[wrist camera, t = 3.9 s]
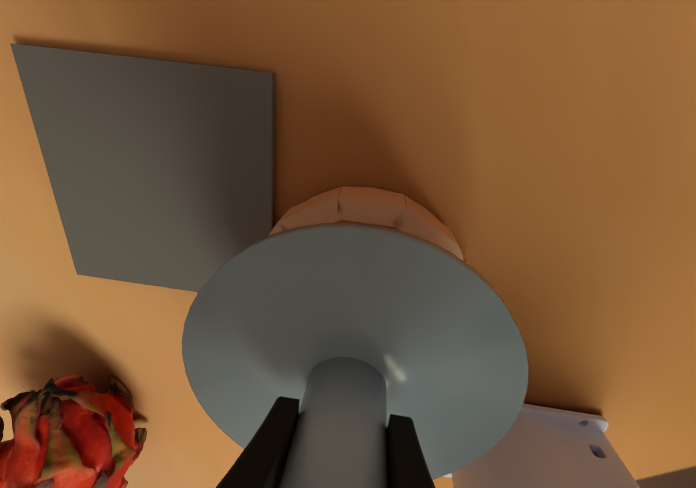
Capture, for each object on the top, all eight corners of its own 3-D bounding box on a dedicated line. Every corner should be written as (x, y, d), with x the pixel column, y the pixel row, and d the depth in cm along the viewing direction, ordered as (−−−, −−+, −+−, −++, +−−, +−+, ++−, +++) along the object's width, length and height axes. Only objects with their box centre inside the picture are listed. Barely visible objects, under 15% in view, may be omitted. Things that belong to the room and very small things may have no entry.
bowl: (485, 201, 16) (503, 218, 13) (436, 369, 20) (443, 403, 18) (264, 173, 16) (244, 185, 14) (265, 342, 21) (250, 373, 18)
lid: (568, 232, 9) (732, 355, 5) (484, 487, 14) (527, 654, 10) (156, 213, 10) (-9, 300, 6) (219, 456, 15) (155, 596, 11)
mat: (274, 73, 14) (272, 72, 14) (273, 298, 19) (271, 302, 19) (19, 44, 15) (10, 43, 14) (82, 271, 20) (77, 274, 19)
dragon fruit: (123, 438, 29) (125, 323, 26) (161, 515, 24) (171, 387, 21) (-19, 505, 22) (-40, 363, 19) (-5, 629, 18) (-30, 469, 14)
